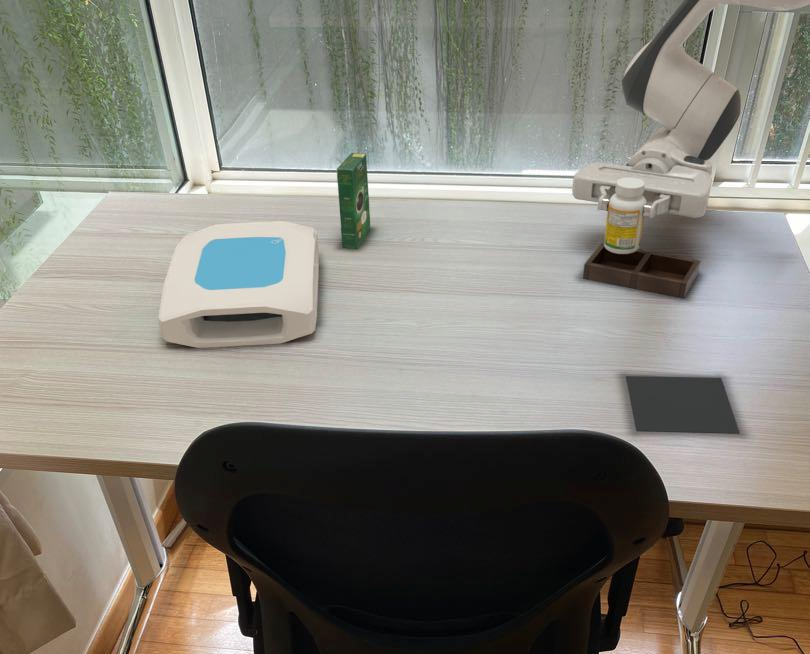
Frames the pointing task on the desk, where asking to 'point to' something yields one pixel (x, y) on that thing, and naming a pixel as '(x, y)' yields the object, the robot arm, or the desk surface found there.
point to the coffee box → (353, 200)
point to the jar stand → (643, 271)
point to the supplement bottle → (625, 217)
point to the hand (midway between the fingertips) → (625, 209)
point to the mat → (680, 405)
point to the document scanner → (241, 284)
